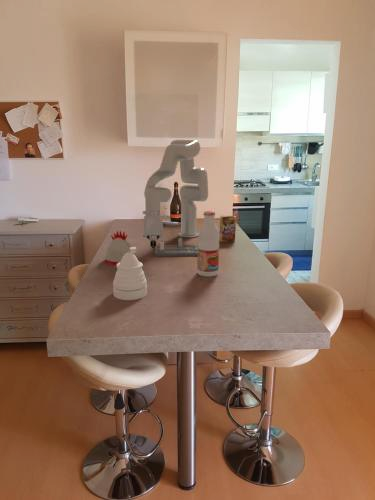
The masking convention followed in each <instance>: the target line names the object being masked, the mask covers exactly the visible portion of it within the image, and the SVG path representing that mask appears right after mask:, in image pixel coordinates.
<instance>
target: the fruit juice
mask: <svg viewBox="0 0 375 500" xmlns="http://www.w3.org/2000/svg"><path fill="white" fill-rule="evenodd" d="M215 216H216V212H215V211H212V210H211V211H210V210H207V211H204V212H203V217H204V219H203V222H202V224H201V225H200V227H199V228H198V232H197V233H198V234H199V235H198V238H199V239H198V242H197V245H198V256H197V263H196V264H197V267H196V270H197V271H196V272H197V275H199V276H201V277H206V278H210V277H211V278H212V277H215V276H218V274H219V259H220V241H219V235H220V228H219V227H218V226H217V224H216V220H215Z"/></svg>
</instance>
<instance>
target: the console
mask: <svg viewBox="0 0 375 500" xmlns="http://www.w3.org/2000/svg"><path fill="white" fill-rule="evenodd" d="M194 256H195V257H198V244H195V243H194V244H182V247H179V246H178V244H164V250H160V244H159V243H158V244H156V247H155V248H154V257H194Z"/></svg>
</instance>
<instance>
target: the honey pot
mask: <svg viewBox="0 0 375 500" xmlns="http://www.w3.org/2000/svg"><path fill="white" fill-rule="evenodd" d="M130 251H131V252H127V253H126V254H125V255H124V256H123V258H122V259H121V261H120V262H119V263H118V264H117V265H115V267H116V268H117V270H116V271H115V276H114V279H113V281H112V285H113V289H112V290H113V296H114V298H116V299H118V300H124V301H135V300H139V299H142V298H144V297H146V296H147V294H148V284H147V283H148V281H147V278H146V276H145V272H144V270H143V263H142V262H141V261H139V260H138V258H137V256H136V255H135V253H136V251H137V247H136V246H131V247H130Z"/></svg>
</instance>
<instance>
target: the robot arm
mask: <svg viewBox="0 0 375 500" xmlns="http://www.w3.org/2000/svg"><path fill="white" fill-rule="evenodd" d="M200 151H201V144H200V142H199V141H198V140H197V139H196V140H195V139H175V140H172V141H170V144H168V145H167V146H166V148H165V150H164V153H163V156H162V160H161V163H160V166H159V168H158V169H157V170H156V171H154V172H153V174H151V175H150V176H149V178H148V179H147V182H146V185H145V188H144V192H143V193H144V194H143V195H144V198H145V210H143V211H142V215H144V216H143V221H142V222H143V223H142V226H143V227H142V229H143V230H142V232H143V233H142V237H143V238H147V240H149V242H150V245H149V246H150V247H151V249H155V247H156V245H157V241H158V240H159V239H161V238H163V237H164V226H163V225H164V221H163V216H162V215H161V203H167V202H169V201H170V200H171V198H172V191H171V190H170V189H169V188H167V187H160V186H157V185H158V183H160V182H161V181H163V180H165V179H168V178H171V177H172V176H174V175H175V173H176V172H177V171H176V169H177V167H178V164H179V169H180V170H179V171H180V179H181V181H182V183H184V185H182V186H181V187H180V188H179V196H180V207H181V208H180V216H181V217H180V232H178V236H179V237H181V238H186V239H188V238H197V237H199V234H198V232H197V212H198V211H197V209H198V208H197V205H196V203H195V202H206V201H207V200H208V197H209V185H208V184H209V181H208V173H207V171H206V169H205V168H204V167H196V166H195V159H194V158H195V157H197V156H198V155H199V154H200ZM153 237H154V238H153Z"/></svg>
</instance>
